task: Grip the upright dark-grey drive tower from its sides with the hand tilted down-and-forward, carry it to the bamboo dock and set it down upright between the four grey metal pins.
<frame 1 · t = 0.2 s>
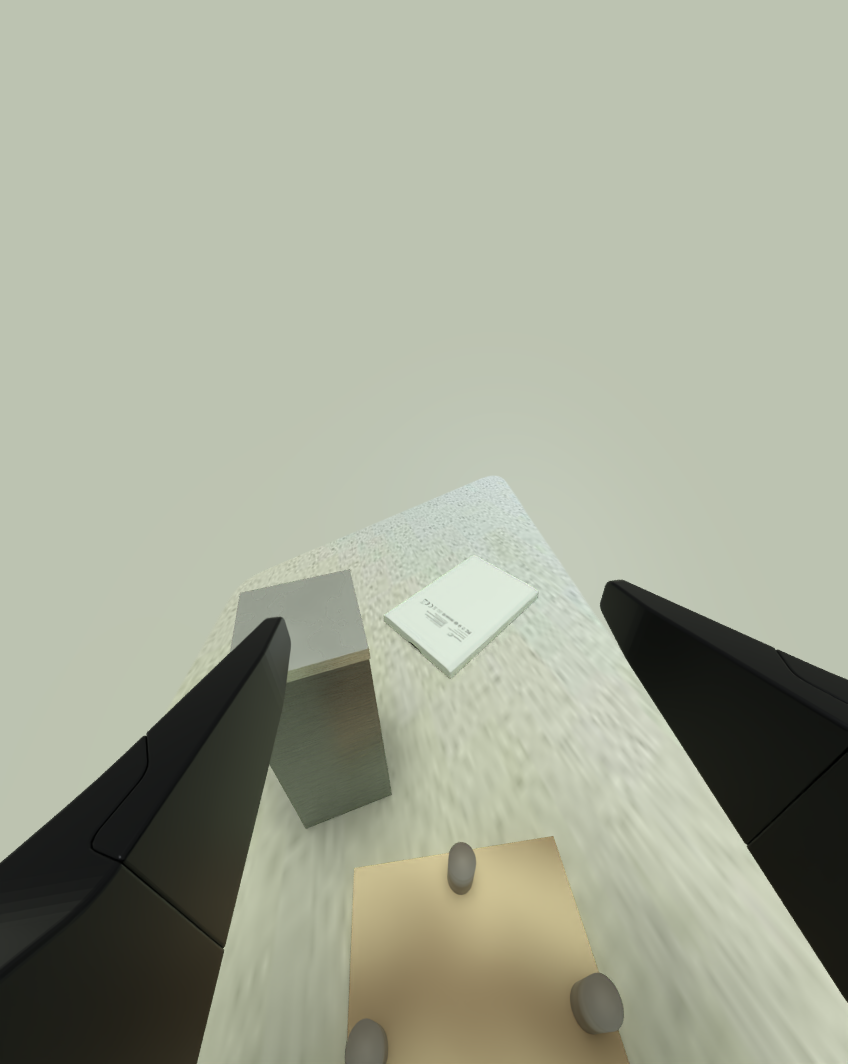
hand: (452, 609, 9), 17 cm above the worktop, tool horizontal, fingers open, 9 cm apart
drive tower: (344, 765, 21), on the worktop
external hard drive: (462, 614, 32), on the worktop
dock: (480, 1029, 13), on the worktop
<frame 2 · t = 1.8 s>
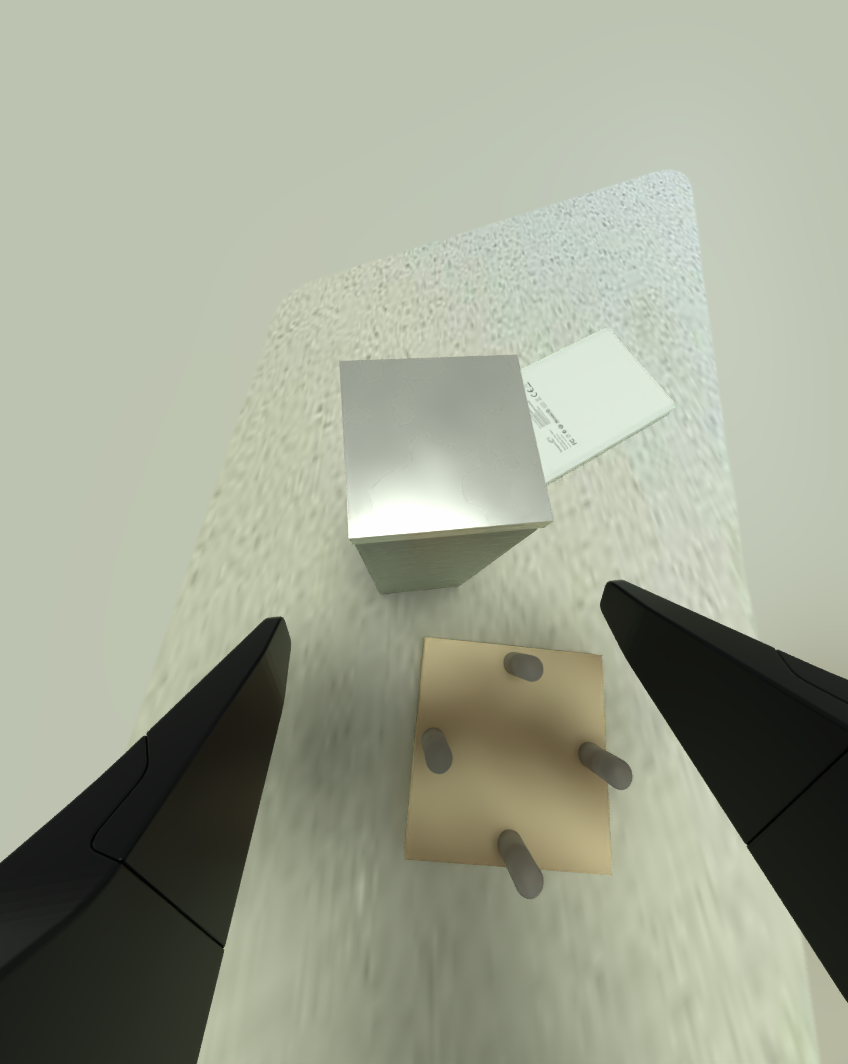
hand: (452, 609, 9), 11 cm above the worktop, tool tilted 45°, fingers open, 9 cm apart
drive tower: (416, 551, 21), on the worktop
external hard drive: (565, 413, 26), on the worktop
dock: (506, 741, 19), on the worktop
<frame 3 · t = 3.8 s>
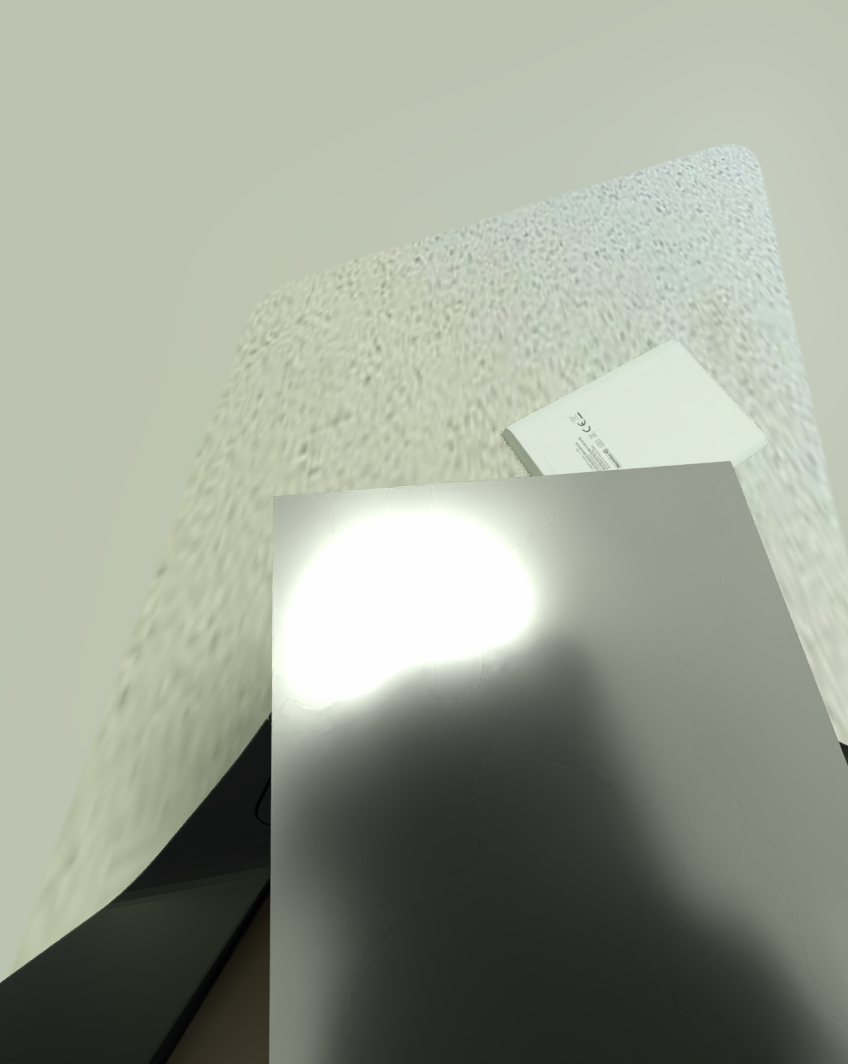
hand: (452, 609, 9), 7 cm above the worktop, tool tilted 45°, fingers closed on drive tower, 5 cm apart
drive tower: (433, 650, 15), on the worktop, touching gripper
external hard drive: (622, 449, 20), on the worktop
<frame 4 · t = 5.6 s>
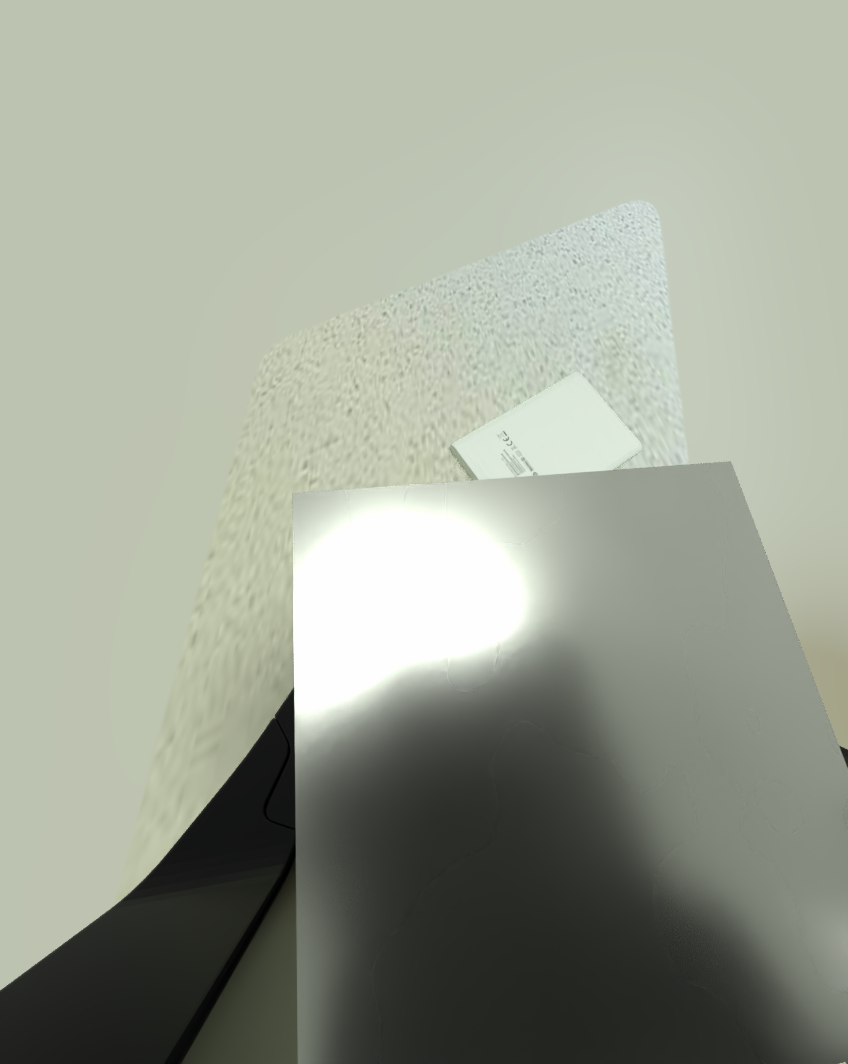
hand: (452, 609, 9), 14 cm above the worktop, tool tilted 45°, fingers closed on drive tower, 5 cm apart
drive tower: (433, 647, 16), point 7 cm above the worktop, touching gripper
external hard drive: (540, 456, 27), on the worktop
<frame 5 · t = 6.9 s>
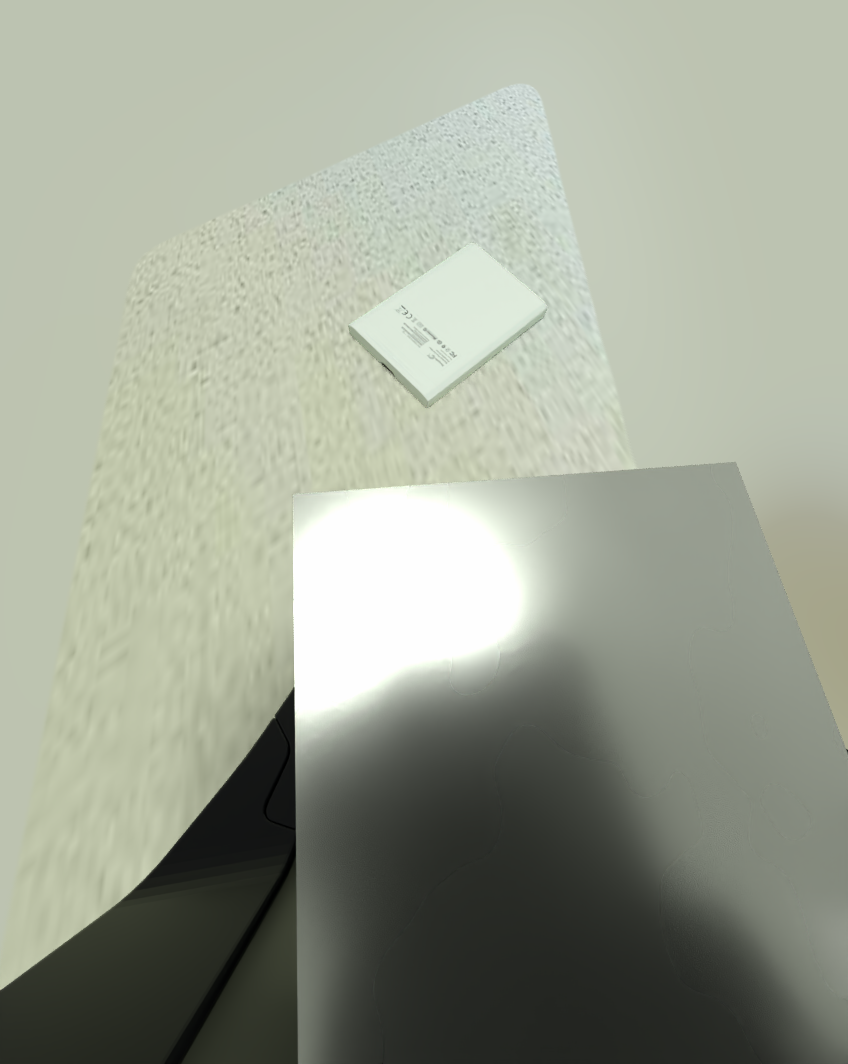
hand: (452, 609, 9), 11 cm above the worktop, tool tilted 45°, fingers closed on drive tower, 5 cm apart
drive tower: (433, 648, 16), point 4 cm above the worktop, touching gripper
external hard drive: (448, 333, 26), on the worktop
when the fingers open (9 cm above the worktop, at t = 7.7 s): drive tower drops 1 cm, resting on dock.
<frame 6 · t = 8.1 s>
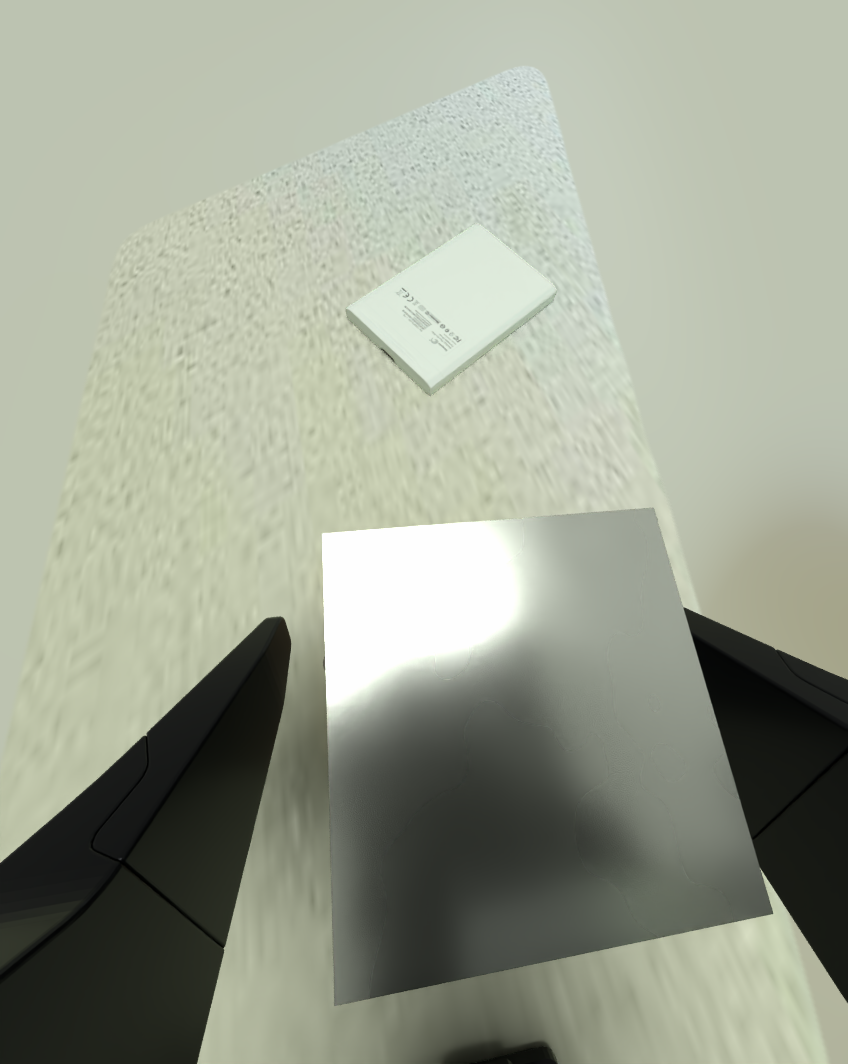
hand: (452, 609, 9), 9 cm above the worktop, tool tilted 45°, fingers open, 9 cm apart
drive tower: (430, 647, 17), point 1 cm above the worktop, touching dock
external hard drive: (451, 318, 25), on the worktop
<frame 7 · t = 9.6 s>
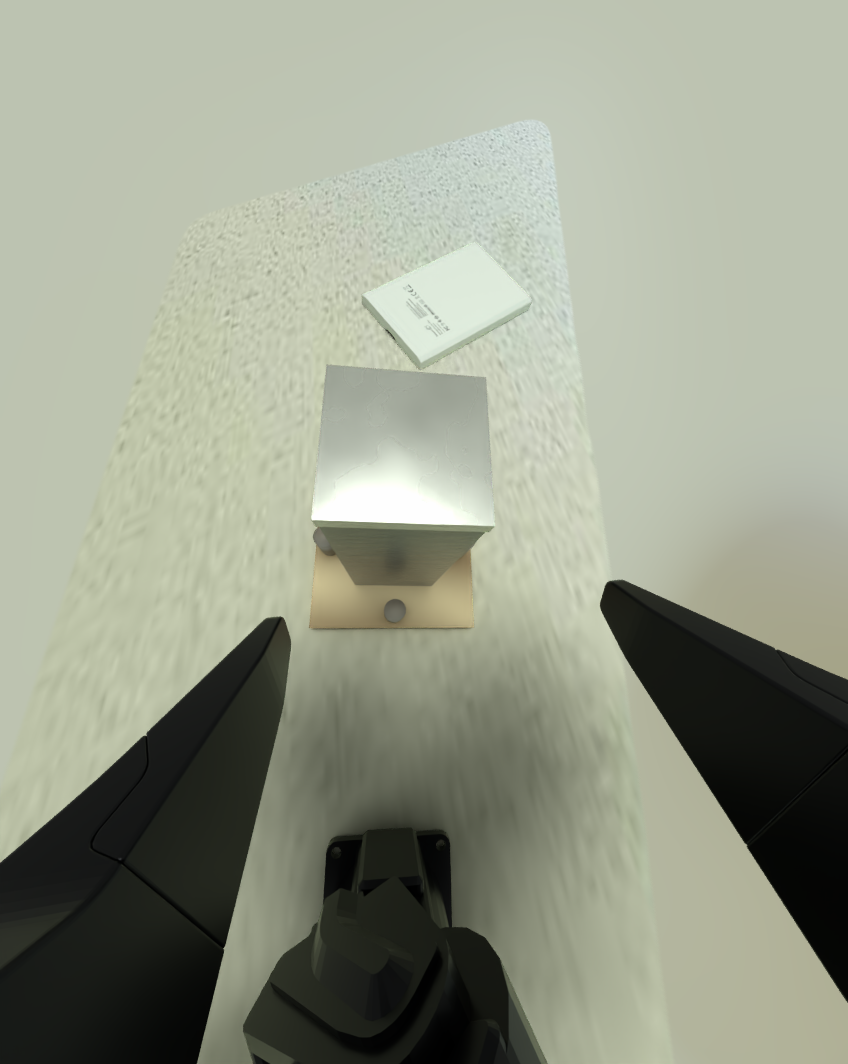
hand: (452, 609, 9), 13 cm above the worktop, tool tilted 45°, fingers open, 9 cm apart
drive tower: (394, 548, 22), point 1 cm above the worktop, touching dock
external hard drive: (446, 313, 31), on the worktop
dock: (394, 551, 23), on the worktop
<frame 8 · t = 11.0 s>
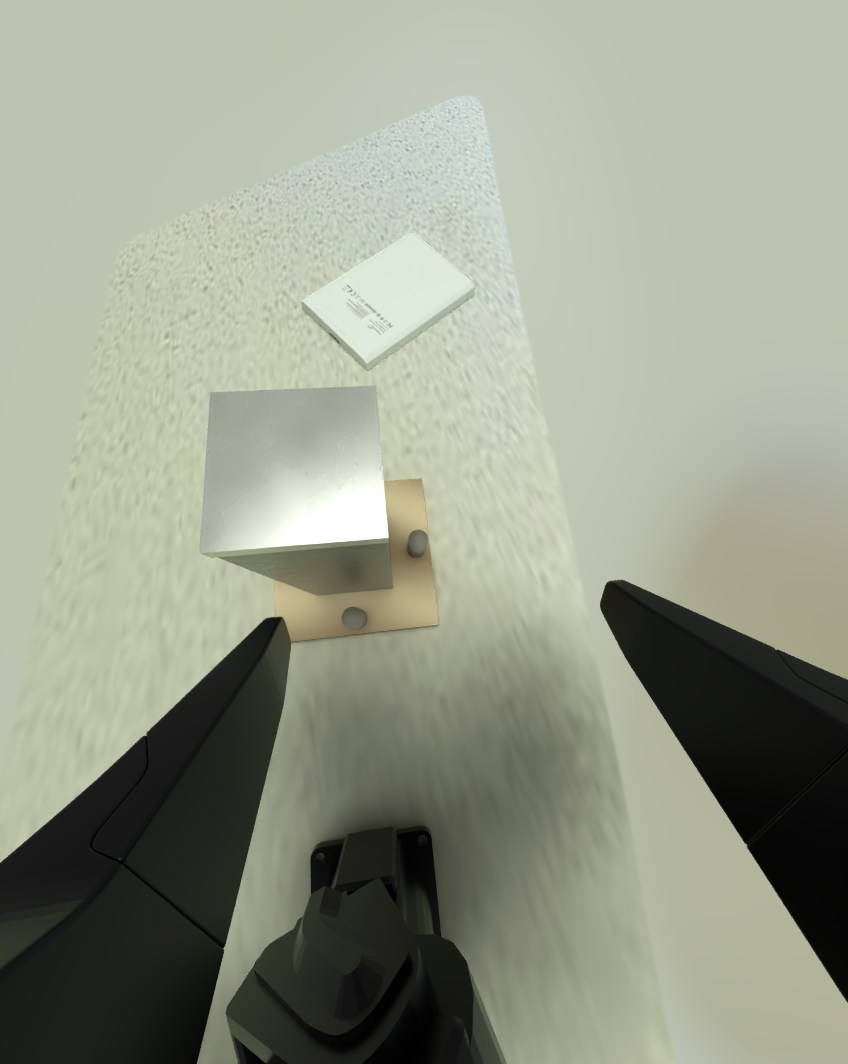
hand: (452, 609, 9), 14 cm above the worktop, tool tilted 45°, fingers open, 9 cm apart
drive tower: (353, 555, 22), point 1 cm above the worktop, touching dock
external hard drive: (390, 309, 30), on the worktop
dock: (355, 557, 23), on the worktop
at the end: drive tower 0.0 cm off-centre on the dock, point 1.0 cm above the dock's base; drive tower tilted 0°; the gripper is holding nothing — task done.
